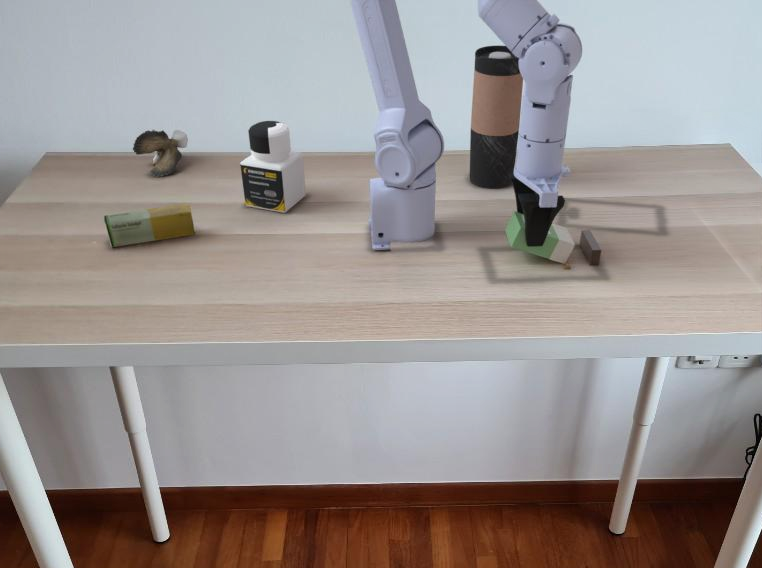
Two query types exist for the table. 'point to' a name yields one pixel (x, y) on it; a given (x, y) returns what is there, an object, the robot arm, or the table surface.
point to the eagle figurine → (161, 149)
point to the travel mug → (495, 116)
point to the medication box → (149, 225)
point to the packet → (554, 246)
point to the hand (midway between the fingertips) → (530, 235)
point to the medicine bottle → (272, 169)
